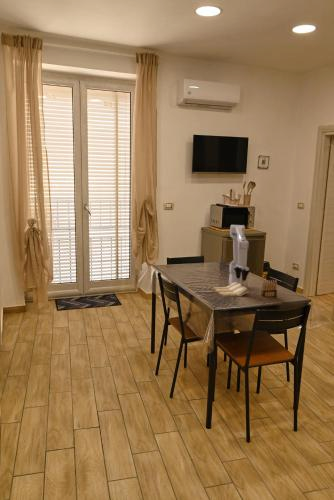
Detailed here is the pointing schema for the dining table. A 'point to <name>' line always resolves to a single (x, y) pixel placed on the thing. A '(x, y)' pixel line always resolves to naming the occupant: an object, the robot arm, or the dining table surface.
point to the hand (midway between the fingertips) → (241, 279)
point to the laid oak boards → (224, 291)
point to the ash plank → (238, 289)
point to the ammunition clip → (269, 289)
